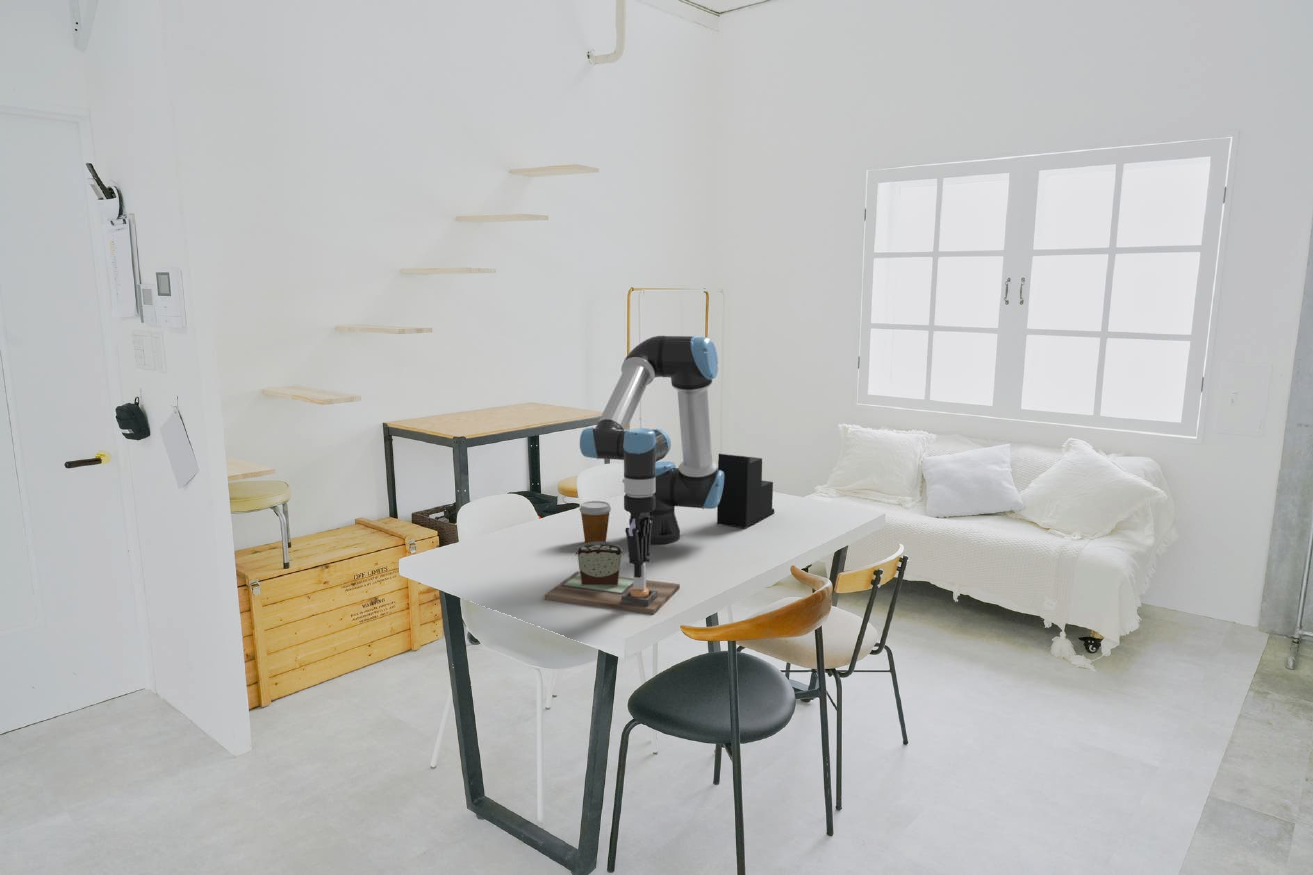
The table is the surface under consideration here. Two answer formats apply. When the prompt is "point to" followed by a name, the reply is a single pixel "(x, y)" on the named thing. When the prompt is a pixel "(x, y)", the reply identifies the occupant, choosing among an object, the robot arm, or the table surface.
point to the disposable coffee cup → (595, 520)
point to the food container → (599, 563)
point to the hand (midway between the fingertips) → (639, 588)
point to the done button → (640, 593)
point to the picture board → (613, 594)
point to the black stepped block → (743, 491)
